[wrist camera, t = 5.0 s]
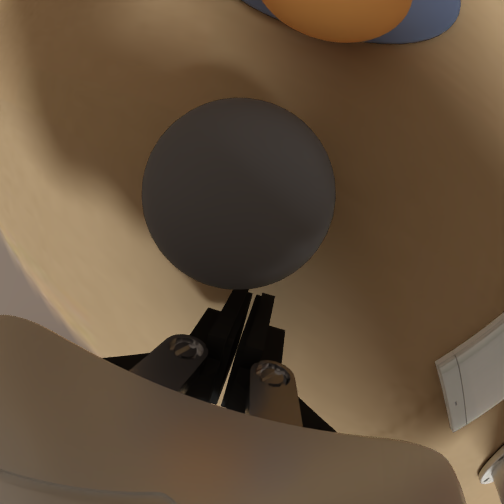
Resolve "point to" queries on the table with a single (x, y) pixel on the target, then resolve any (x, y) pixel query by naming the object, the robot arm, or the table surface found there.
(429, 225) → the table surface
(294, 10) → the object ball
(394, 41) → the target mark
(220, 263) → the gray ball
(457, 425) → the hard drive
